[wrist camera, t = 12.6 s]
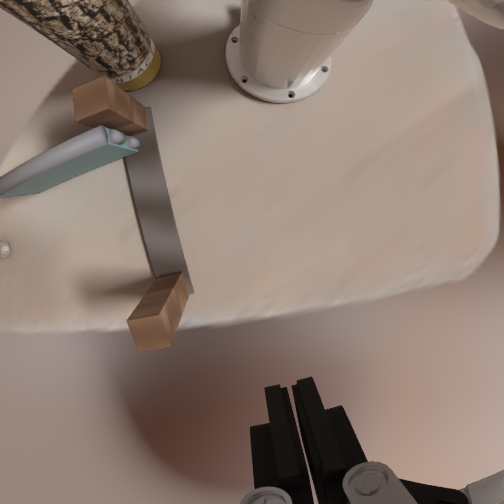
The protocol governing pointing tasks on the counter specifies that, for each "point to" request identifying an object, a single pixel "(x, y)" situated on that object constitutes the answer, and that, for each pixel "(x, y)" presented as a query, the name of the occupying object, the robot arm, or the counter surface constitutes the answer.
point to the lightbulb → (4, 250)
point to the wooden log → (95, 36)
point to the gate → (68, 161)
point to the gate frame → (144, 210)
